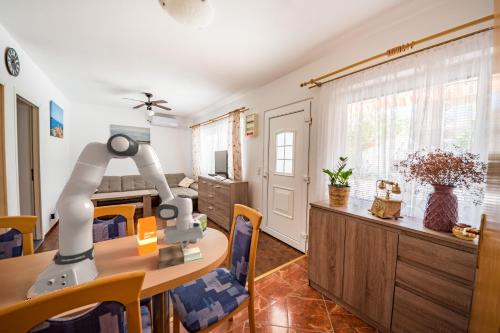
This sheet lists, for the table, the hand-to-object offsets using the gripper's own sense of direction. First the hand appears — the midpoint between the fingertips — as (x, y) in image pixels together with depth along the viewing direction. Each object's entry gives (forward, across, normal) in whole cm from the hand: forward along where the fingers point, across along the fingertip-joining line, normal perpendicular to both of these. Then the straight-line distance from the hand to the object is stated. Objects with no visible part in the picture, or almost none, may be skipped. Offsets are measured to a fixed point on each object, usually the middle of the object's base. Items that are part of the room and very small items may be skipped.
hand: (184, 248), depth 106 cm
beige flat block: (+5, +4, 0) cm, 6 cm away
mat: (+5, +4, 0) cm, 6 cm away
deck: (+5, -7, 0) cm, 9 cm away
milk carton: (+5, -3, +23) cm, 24 cm away
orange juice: (+5, -19, +16) cm, 25 cm away
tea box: (+5, +10, +22) cm, 25 cm away
